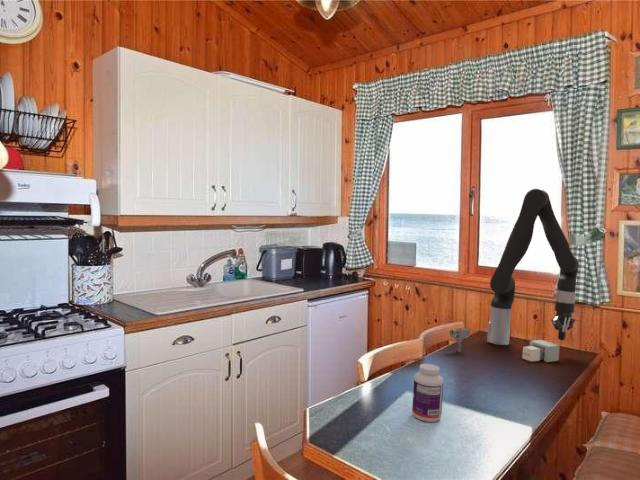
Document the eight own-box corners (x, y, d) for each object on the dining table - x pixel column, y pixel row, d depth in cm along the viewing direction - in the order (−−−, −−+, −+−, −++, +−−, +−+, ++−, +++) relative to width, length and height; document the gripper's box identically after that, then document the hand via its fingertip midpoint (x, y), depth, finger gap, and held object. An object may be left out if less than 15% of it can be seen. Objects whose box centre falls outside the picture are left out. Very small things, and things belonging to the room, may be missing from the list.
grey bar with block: (549, 355, 194) (550, 344, 193) (558, 358, 190) (559, 347, 189) (520, 358, 187) (521, 346, 187) (528, 361, 183) (529, 349, 183)
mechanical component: (447, 351, 191) (448, 328, 191) (465, 350, 195) (466, 327, 195) (451, 353, 188) (453, 330, 188) (470, 351, 193) (471, 329, 192)
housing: (539, 354, 195) (540, 339, 195) (558, 360, 187) (559, 345, 186) (528, 355, 192) (529, 340, 191) (547, 362, 184) (548, 346, 183)
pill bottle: (419, 408, 130) (422, 360, 129) (445, 417, 125) (449, 367, 124) (406, 416, 124) (409, 366, 123) (433, 426, 119) (436, 373, 118)
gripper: (567, 299, 199) (563, 336, 200) (547, 299, 194) (543, 338, 194) (583, 302, 192) (579, 341, 193) (562, 303, 187) (559, 343, 188)
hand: (561, 339), depth 194 cm, fingers closed
